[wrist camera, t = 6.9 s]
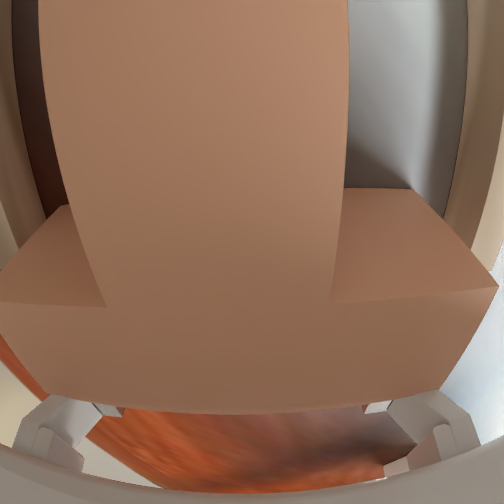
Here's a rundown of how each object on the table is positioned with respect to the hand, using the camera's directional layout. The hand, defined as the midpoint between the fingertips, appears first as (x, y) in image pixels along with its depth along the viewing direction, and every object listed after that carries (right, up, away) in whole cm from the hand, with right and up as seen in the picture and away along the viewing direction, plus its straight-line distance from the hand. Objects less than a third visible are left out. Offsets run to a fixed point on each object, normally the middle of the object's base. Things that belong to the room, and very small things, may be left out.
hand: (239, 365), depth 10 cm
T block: (0, +7, -2) cm, 7 cm away
